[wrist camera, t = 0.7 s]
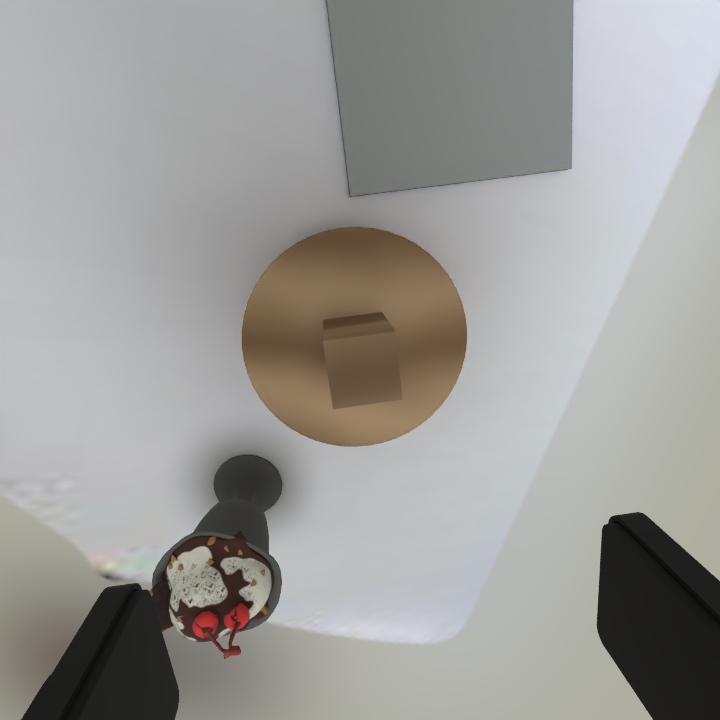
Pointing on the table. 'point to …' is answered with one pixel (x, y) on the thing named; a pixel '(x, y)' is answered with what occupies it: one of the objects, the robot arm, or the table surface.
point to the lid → (354, 336)
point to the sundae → (224, 560)
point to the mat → (452, 90)
